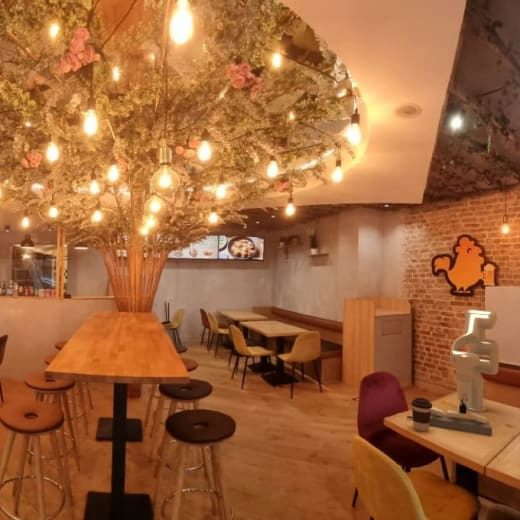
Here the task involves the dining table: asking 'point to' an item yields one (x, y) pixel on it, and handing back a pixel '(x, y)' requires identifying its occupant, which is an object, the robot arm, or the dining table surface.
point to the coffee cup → (421, 414)
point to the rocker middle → (455, 414)
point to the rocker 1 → (437, 411)
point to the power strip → (460, 424)
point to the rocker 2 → (477, 417)
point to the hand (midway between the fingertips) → (462, 412)
